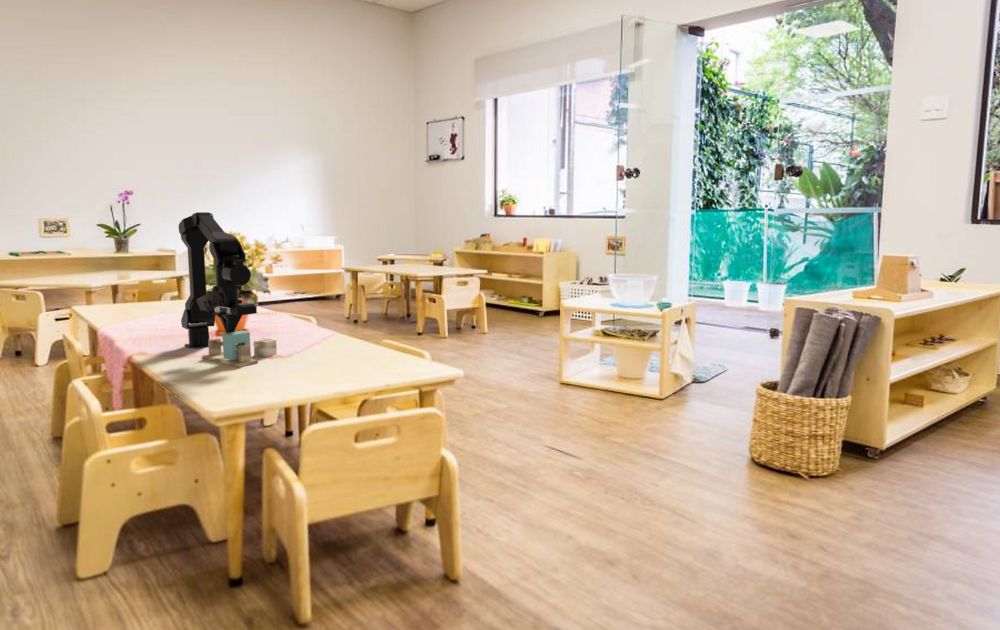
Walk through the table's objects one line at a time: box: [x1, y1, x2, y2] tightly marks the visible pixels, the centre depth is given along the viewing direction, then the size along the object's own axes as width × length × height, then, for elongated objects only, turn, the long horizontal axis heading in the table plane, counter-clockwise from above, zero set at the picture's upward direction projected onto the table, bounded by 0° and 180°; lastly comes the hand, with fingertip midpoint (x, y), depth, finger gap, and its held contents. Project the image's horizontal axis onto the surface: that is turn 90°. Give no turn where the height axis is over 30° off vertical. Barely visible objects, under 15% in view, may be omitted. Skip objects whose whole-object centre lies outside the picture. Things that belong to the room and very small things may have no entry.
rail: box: [202, 338, 259, 368], centre depth 200 cm, size 18×6×5 cm, turn 54°
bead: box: [222, 330, 251, 360], centre depth 197 cm, size 4×6×7 cm, turn 144°
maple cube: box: [253, 338, 278, 358], centre depth 208 cm, size 4×4×4 cm
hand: (229, 336), depth 199 cm, fingers closed
